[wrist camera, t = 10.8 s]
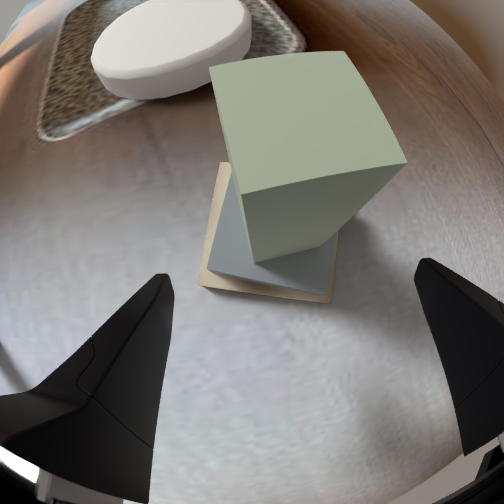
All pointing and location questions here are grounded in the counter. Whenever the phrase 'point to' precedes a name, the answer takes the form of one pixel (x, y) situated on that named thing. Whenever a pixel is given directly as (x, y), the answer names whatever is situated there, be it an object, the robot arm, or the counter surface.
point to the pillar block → (301, 146)
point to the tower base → (239, 284)
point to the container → (170, 46)
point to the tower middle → (273, 270)
